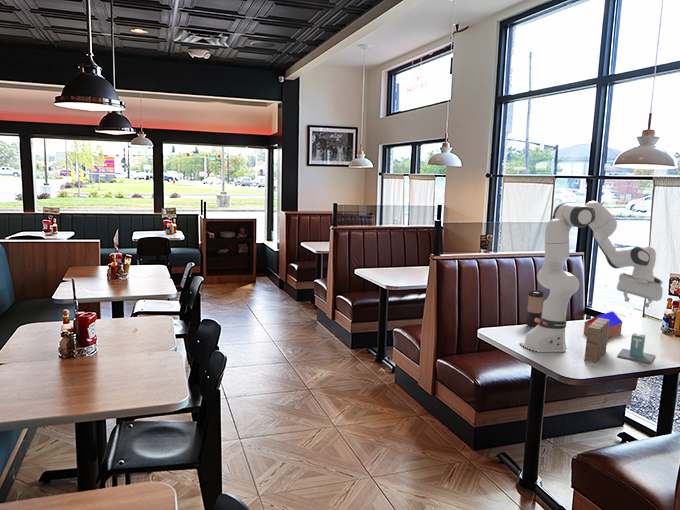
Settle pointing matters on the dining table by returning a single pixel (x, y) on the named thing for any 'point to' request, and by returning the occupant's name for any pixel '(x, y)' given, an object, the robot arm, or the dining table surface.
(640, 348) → the lettered block
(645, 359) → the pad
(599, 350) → the walnut screen
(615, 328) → the house
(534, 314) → the travel mug
